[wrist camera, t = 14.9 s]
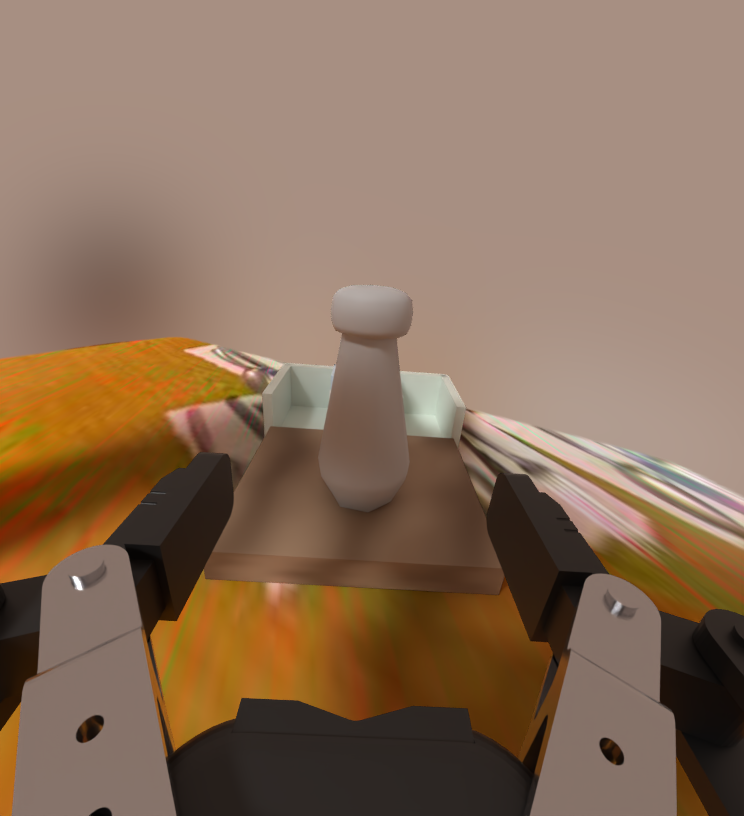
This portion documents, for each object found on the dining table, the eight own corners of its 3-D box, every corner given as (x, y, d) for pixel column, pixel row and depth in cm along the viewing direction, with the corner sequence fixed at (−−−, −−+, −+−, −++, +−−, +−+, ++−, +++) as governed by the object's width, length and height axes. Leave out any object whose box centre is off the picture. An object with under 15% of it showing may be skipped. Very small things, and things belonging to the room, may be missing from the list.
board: (205, 578, 20) (201, 551, 19) (271, 446, 32) (270, 426, 31) (498, 594, 20) (507, 568, 19) (449, 457, 33) (453, 438, 32)
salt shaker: (358, 458, 28) (367, 279, 23) (422, 489, 25) (450, 290, 19) (299, 492, 24) (293, 282, 18) (367, 536, 20) (383, 297, 15)
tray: (265, 445, 32) (262, 393, 30) (285, 406, 40) (284, 362, 38) (456, 457, 33) (466, 407, 31) (440, 416, 41) (447, 374, 38)
